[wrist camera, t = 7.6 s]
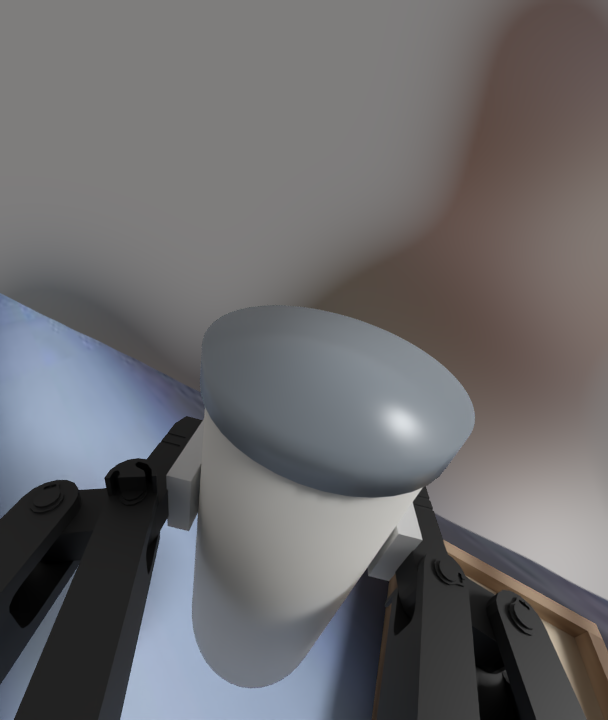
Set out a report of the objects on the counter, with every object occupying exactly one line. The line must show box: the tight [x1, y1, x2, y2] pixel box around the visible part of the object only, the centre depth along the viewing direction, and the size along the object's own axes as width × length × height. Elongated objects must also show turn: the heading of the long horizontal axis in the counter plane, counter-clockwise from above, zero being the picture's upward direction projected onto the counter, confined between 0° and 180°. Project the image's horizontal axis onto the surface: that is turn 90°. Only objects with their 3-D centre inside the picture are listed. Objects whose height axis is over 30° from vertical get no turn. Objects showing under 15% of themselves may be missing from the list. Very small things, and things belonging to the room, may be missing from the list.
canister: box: [192, 305, 475, 688], centre depth 10 cm, size 7×7×14 cm
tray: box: [372, 540, 608, 720], centre depth 18 cm, size 16×16×2 cm
